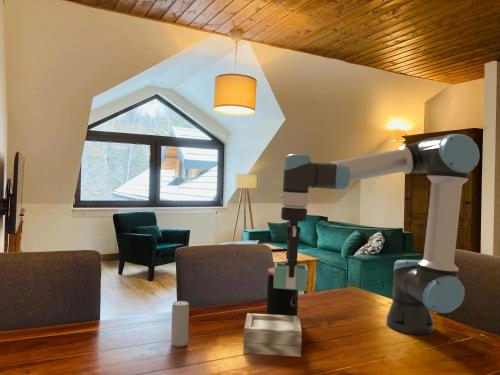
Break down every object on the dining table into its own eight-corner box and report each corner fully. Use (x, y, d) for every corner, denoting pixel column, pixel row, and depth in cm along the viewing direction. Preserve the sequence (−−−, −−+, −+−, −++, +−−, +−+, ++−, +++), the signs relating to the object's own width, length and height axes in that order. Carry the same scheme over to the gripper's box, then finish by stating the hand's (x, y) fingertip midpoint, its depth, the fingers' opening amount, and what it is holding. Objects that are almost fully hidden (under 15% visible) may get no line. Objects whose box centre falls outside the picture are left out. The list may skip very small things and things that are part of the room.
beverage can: (173, 348, 116) (175, 306, 115) (168, 342, 120) (170, 301, 120) (190, 345, 118) (191, 304, 118) (184, 339, 122) (185, 300, 122)
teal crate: (304, 284, 123) (306, 265, 123) (306, 290, 116) (308, 270, 116) (273, 282, 124) (274, 262, 124) (273, 287, 117) (274, 267, 117)
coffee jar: (295, 329, 134) (297, 275, 133) (263, 326, 136) (265, 272, 135) (298, 319, 144) (300, 268, 144) (268, 316, 146) (270, 266, 146)
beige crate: (298, 338, 126) (299, 316, 126) (300, 356, 113) (301, 331, 113) (246, 335, 127) (247, 313, 127) (243, 353, 114) (243, 328, 114)
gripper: (281, 204, 130) (276, 276, 130) (282, 208, 110) (277, 292, 110) (304, 205, 129) (300, 277, 130) (310, 210, 109) (305, 294, 110)
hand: (289, 284), depth 120 cm, fingers closed on teal crate, 7 cm apart
